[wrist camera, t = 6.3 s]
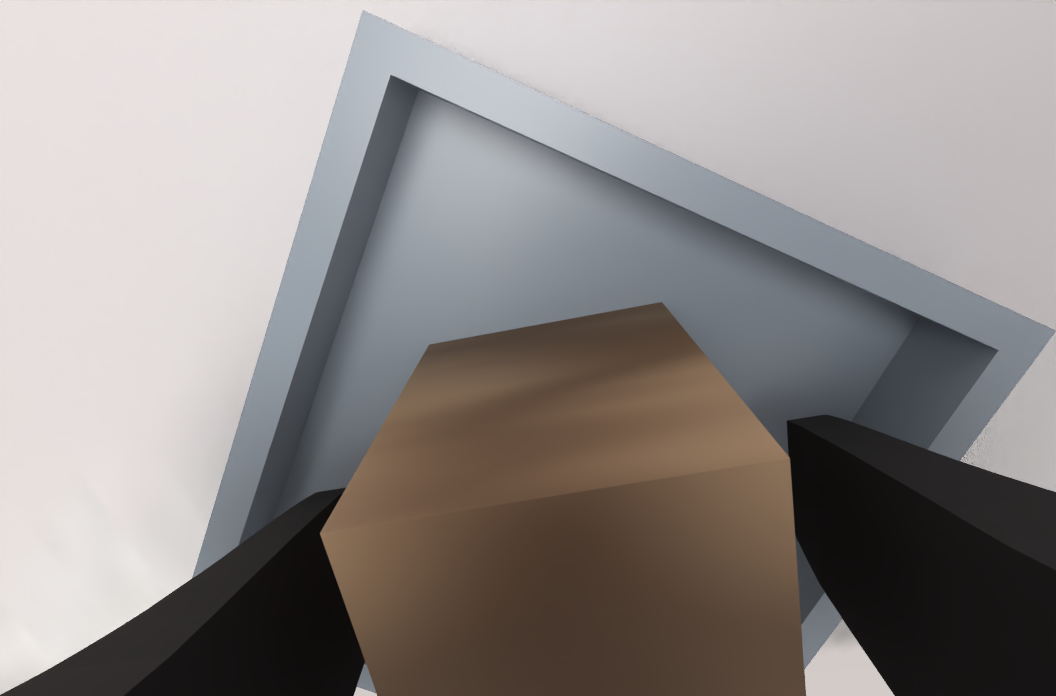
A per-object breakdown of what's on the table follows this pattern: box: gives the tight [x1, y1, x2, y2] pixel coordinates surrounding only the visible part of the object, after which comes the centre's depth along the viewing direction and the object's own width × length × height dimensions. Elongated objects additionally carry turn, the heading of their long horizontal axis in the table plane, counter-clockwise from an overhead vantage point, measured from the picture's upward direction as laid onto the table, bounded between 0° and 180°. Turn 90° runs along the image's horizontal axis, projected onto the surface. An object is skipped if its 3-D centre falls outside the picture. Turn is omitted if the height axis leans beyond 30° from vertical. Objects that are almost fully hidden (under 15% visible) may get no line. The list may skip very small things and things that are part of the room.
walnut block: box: [320, 302, 806, 696], centre depth 9 cm, size 4×4×6 cm
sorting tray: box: [193, 10, 1056, 693], centre depth 11 cm, size 11×11×2 cm
